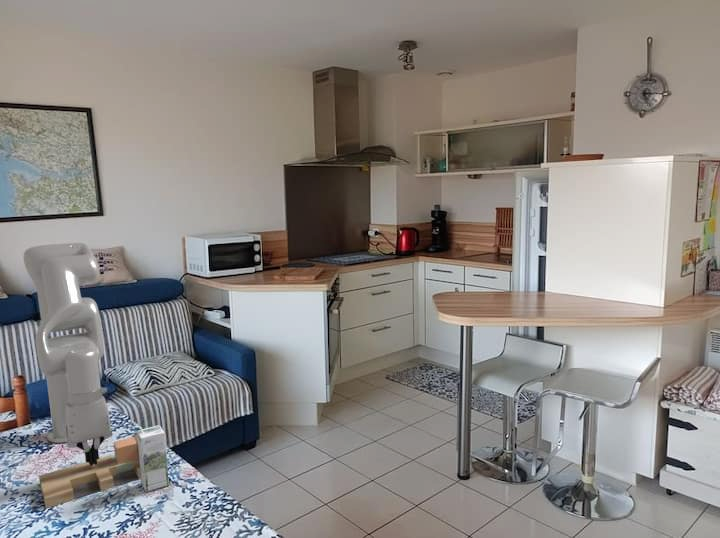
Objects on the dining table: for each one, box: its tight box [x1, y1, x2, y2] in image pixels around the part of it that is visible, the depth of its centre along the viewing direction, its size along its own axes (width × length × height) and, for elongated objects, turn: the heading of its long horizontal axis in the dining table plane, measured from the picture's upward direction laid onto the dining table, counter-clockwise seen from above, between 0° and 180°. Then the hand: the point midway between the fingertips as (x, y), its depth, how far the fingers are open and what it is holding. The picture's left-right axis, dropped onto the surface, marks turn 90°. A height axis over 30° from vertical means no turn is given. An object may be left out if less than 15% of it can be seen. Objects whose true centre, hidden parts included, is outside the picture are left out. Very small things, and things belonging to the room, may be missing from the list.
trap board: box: [38, 433, 141, 509], centre depth 140 cm, size 14×24×6 cm, turn 126°
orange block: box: [113, 436, 138, 465], centre depth 146 cm, size 5×5×4 cm
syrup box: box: [136, 425, 170, 493], centre depth 135 cm, size 6×6×14 cm
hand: (92, 463), depth 142 cm, fingers closed
